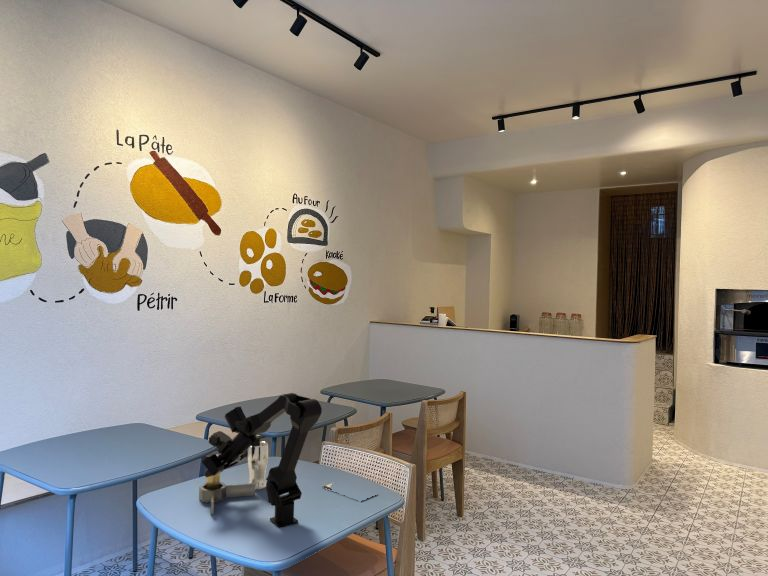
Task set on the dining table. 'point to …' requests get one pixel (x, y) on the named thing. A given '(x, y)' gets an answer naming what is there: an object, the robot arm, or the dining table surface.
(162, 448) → the dining table surface
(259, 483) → the beer glass
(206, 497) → the grey ring with arms
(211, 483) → the hinge pin
